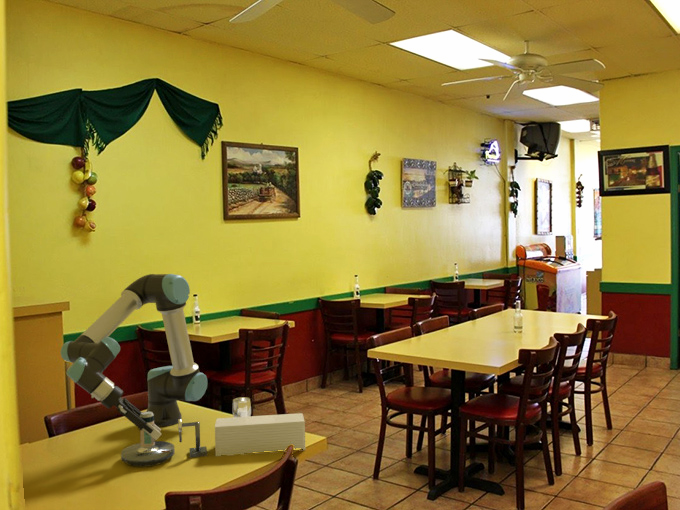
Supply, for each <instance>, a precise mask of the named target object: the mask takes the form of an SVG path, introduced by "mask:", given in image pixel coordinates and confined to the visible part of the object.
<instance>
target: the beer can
mask: <svg viewBox="0 0 680 510" xmlns="http://www.w3.org/2000/svg"><path fill="white" fill-rule="evenodd" d="M141 412H142V413H141V414H140V417H141V418H142V419H143V420H144V421H145V422H148V423H149V424H150V425H152V426H153V427H154V414H153V412H151V411H147V410H146V411H141ZM140 425H141V424H140ZM139 440H140V442H139V443H140V444H141V447H143V448H151V447H153V446H154V445H155V441H156V440H155V439H154V438H153V437H151V436H150V435H149V434H148V433H147V432H145V431H144V430H143V429H142V430H141V431H140V430H139Z"/></svg>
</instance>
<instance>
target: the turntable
mask: <svg viewBox="0 0 680 510" xmlns="http://www.w3.org/2000/svg"><path fill="white" fill-rule="evenodd" d="M174 455H175V445H174V444H173V443H172V442H168V441H159V440H155V445H154V446H153V447H151V448H143V447H141V444H140V442H138V443H135V444H132V445H129V446H127V447H125V448H123V449H122V450H121V451H120V459H121V461H122V462H124V463H125V464H128V463H129V464H150V463H155V462H160V461H163V460H166V459H168V460H169V459H170V458H172V457H173V456H174ZM166 461H167V460H166ZM129 464H128V465H129Z"/></svg>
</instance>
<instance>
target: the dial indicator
mask: <svg viewBox="0 0 680 510" xmlns="http://www.w3.org/2000/svg"><path fill="white" fill-rule="evenodd" d="M182 421H183V419H178V423H177V424H178V426H177V428H178V435H179V443H183V440H182V439H183V436H182V432H183V428H186V427H195V428H194V429H195V430H194V431H195V432H194V433H195V434H194V435H195V447H190V448H188V449H189V458H190V459H192V458H201V456H202V457H208V449H207V446H201V427H200V425H201V423H200V422H201V421H195V422H182Z"/></svg>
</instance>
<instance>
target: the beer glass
mask: <svg viewBox="0 0 680 510" xmlns="http://www.w3.org/2000/svg"><path fill="white" fill-rule="evenodd" d="M251 404H252V403H251V398H250V397H247V396H246V397H244V396H243V397H242V396H240V397H236V398H234V399H232V417H249V416H251V415H252V406H251Z"/></svg>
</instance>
